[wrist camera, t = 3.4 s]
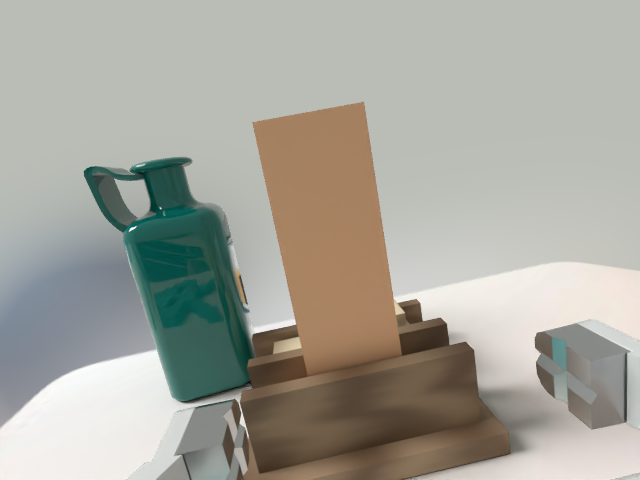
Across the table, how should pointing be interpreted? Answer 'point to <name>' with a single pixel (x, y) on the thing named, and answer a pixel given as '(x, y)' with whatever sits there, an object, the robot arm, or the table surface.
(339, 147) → the panel
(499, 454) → the rack
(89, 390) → the table surface
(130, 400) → the table surface
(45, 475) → the table surface
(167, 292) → the pitcher
